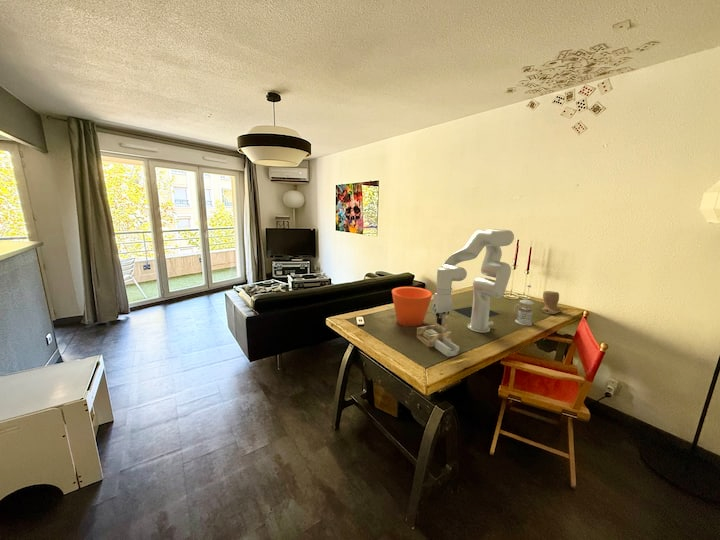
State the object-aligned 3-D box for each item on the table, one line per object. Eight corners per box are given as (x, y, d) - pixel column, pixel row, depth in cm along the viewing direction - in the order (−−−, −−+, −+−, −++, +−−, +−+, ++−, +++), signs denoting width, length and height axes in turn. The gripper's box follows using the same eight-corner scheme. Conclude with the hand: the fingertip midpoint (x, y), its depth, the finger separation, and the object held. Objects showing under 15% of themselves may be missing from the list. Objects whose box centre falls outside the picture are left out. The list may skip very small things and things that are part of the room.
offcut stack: (430, 337, 148) (430, 328, 147) (437, 342, 142) (438, 333, 141) (422, 338, 146) (423, 329, 145) (429, 344, 140) (430, 334, 139)
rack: (437, 335, 153) (438, 324, 151) (450, 344, 143) (451, 332, 141) (416, 339, 147) (417, 327, 146) (428, 348, 137) (429, 336, 136)
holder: (444, 346, 140) (445, 337, 139) (458, 356, 131) (459, 346, 130) (433, 348, 138) (434, 339, 137) (447, 358, 128) (448, 349, 127)
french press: (535, 326, 168) (541, 287, 163) (514, 324, 171) (520, 286, 166) (528, 320, 178) (534, 283, 173) (509, 318, 180) (514, 282, 175)
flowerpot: (409, 312, 189) (411, 284, 184) (438, 324, 169) (441, 294, 164) (382, 319, 174) (383, 290, 170) (410, 333, 154) (412, 300, 150)
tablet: (473, 319, 176) (451, 309, 194) (473, 320, 176) (451, 310, 194) (501, 314, 187) (478, 305, 205) (501, 315, 187) (478, 306, 205)
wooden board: (437, 331, 149) (439, 310, 147) (446, 336, 143) (447, 315, 141) (434, 331, 149) (436, 311, 146) (443, 337, 142) (444, 315, 140)
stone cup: (544, 307, 204) (547, 288, 201) (563, 312, 194) (566, 292, 191) (535, 311, 195) (538, 291, 192) (554, 316, 186) (557, 295, 183)
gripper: (450, 287, 147) (448, 319, 151) (426, 290, 141) (424, 323, 145) (460, 291, 140) (457, 324, 144) (435, 294, 134) (433, 329, 138)
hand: (441, 323), depth 145 cm, fingers closed on wooden board, 2 cm apart
